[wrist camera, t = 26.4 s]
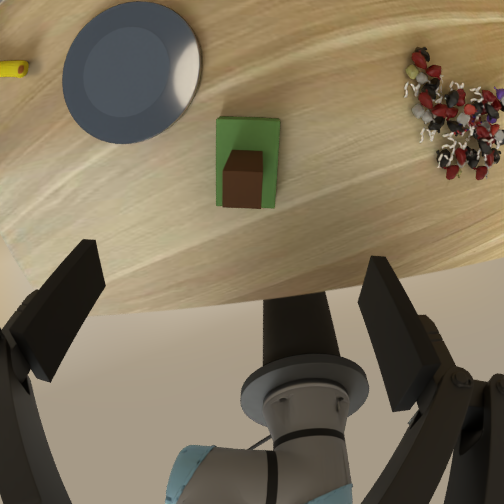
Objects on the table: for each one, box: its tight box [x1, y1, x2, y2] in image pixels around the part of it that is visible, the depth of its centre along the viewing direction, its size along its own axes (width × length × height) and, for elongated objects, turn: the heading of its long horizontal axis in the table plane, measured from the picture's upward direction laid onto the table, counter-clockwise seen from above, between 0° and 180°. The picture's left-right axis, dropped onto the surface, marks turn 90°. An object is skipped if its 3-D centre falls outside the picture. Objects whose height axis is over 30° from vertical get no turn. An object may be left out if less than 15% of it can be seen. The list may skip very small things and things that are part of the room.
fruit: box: [0, 60, 29, 78], centre depth 23 cm, size 10×2×5 cm, turn 74°
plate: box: [62, 1, 202, 144], centre depth 27 cm, size 16×16×1 cm
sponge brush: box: [216, 116, 280, 209], centre depth 28 cm, size 9×6×10 cm, turn 178°
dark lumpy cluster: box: [404, 47, 504, 180], centre depth 26 cm, size 15×14×5 cm
